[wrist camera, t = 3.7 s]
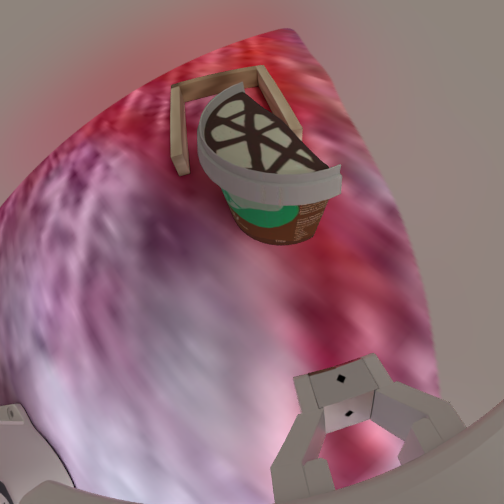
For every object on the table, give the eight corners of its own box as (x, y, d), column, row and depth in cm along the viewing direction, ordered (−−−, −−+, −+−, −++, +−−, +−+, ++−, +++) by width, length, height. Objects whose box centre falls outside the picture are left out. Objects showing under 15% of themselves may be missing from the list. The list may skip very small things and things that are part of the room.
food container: (198, 186, 27) (167, 108, 18) (250, 160, 28) (239, 79, 18) (260, 287, 22) (247, 223, 13) (323, 249, 23) (347, 171, 14)
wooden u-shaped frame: (179, 176, 27) (170, 157, 25) (176, 100, 34) (171, 85, 32) (301, 149, 28) (302, 128, 25) (264, 81, 34) (263, 65, 32)
